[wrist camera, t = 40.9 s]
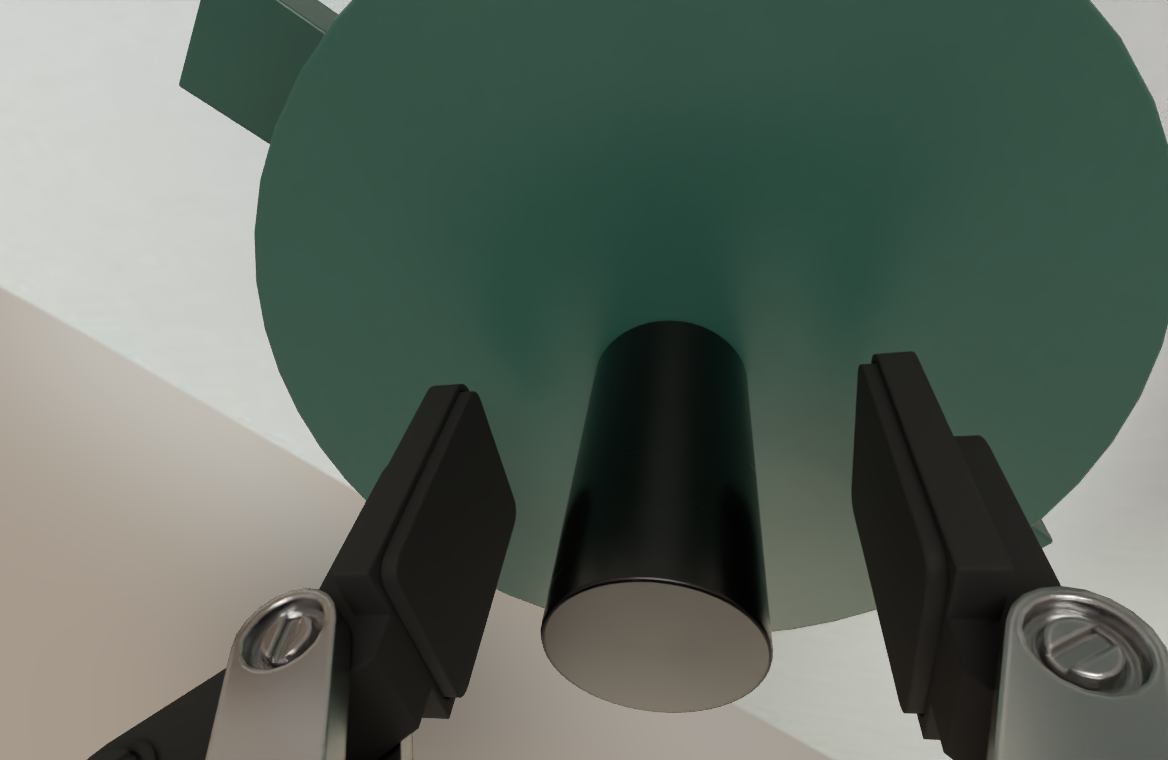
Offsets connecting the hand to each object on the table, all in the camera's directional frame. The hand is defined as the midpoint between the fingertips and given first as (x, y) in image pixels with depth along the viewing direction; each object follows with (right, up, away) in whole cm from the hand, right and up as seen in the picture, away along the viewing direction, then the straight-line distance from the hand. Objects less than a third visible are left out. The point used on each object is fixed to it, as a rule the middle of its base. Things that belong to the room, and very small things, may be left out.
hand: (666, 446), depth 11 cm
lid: (0, +1, +2) cm, 2 cm away
